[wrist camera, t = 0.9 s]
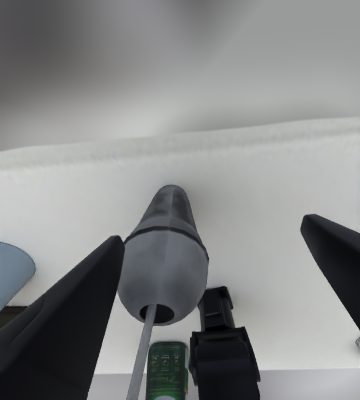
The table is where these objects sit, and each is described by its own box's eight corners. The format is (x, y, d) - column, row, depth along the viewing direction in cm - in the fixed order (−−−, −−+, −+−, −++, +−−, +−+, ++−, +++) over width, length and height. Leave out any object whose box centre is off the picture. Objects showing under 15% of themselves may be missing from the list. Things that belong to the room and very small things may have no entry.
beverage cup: (208, 200, 24) (285, 451, 6) (172, 230, 26) (150, 475, 8) (170, 163, 22) (115, 389, 4) (135, 199, 24) (-3, 444, 6)
